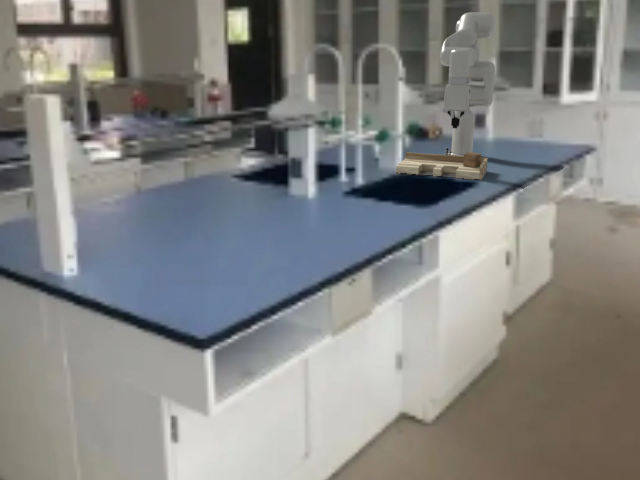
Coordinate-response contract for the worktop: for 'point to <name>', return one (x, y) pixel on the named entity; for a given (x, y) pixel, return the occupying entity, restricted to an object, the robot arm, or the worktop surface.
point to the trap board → (440, 166)
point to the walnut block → (472, 160)
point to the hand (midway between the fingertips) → (455, 127)
